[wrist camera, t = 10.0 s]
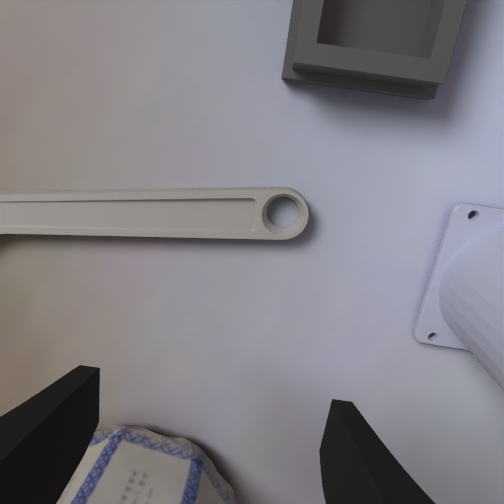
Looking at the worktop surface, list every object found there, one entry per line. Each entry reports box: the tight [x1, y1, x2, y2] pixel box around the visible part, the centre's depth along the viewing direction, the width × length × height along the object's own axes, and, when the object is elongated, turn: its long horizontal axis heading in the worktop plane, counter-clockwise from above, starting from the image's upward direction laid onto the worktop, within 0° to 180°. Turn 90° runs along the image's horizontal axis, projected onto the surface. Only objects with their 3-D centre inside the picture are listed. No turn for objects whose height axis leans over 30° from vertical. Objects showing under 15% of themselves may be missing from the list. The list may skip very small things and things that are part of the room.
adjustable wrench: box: [0, 187, 309, 240], centre depth 21 cm, size 25×6×2 cm, turn 86°
